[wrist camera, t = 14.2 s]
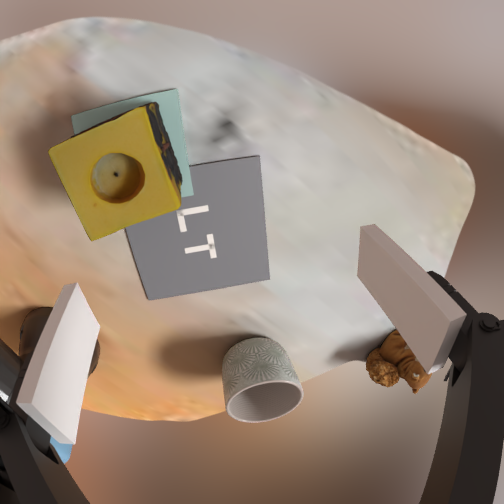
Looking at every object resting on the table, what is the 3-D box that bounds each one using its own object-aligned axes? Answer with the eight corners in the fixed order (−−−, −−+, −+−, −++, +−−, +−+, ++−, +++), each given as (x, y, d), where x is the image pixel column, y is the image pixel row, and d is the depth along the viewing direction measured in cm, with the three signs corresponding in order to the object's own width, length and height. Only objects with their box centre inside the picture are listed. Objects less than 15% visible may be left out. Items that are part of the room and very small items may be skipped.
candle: (79, 132, 30) (43, 149, 21) (157, 98, 30) (144, 100, 22) (109, 206, 35) (87, 244, 27) (184, 178, 35) (183, 208, 27)
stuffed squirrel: (409, 347, 64) (437, 387, 52) (357, 371, 63) (381, 416, 52) (413, 319, 58) (446, 361, 47) (356, 345, 58) (384, 394, 47)
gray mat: (149, 299, 43) (148, 300, 43) (113, 181, 34) (113, 182, 34) (269, 278, 45) (269, 279, 45) (259, 155, 36) (259, 156, 36)
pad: (96, 213, 36) (94, 215, 35) (72, 115, 29) (71, 115, 29) (193, 193, 37) (193, 195, 37) (177, 89, 31) (177, 89, 30)
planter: (204, 349, 50) (210, 401, 41) (269, 318, 49) (287, 369, 40) (238, 383, 57) (248, 429, 48) (295, 357, 56) (313, 403, 47)
